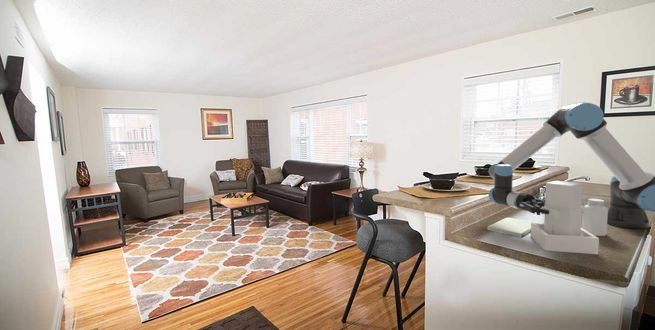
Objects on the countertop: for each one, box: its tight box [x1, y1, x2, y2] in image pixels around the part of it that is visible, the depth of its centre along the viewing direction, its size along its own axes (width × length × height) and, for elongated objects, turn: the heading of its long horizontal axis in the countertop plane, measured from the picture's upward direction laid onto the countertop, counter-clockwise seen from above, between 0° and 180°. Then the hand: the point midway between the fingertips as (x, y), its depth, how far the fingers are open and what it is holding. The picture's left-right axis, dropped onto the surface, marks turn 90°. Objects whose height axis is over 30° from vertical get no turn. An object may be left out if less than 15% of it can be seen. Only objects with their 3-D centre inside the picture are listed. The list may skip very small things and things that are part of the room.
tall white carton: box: [544, 179, 584, 236], centre depth 117 cm, size 9×9×25 cm
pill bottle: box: [581, 198, 608, 237], centre depth 128 cm, size 8×8×15 cm
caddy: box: [530, 222, 600, 255], centre depth 118 cm, size 16×16×6 cm
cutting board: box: [487, 216, 538, 238], centre depth 140 cm, size 22×14×2 cm, turn 128°
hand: (571, 212), depth 114 cm, fingers open, 13 cm apart
